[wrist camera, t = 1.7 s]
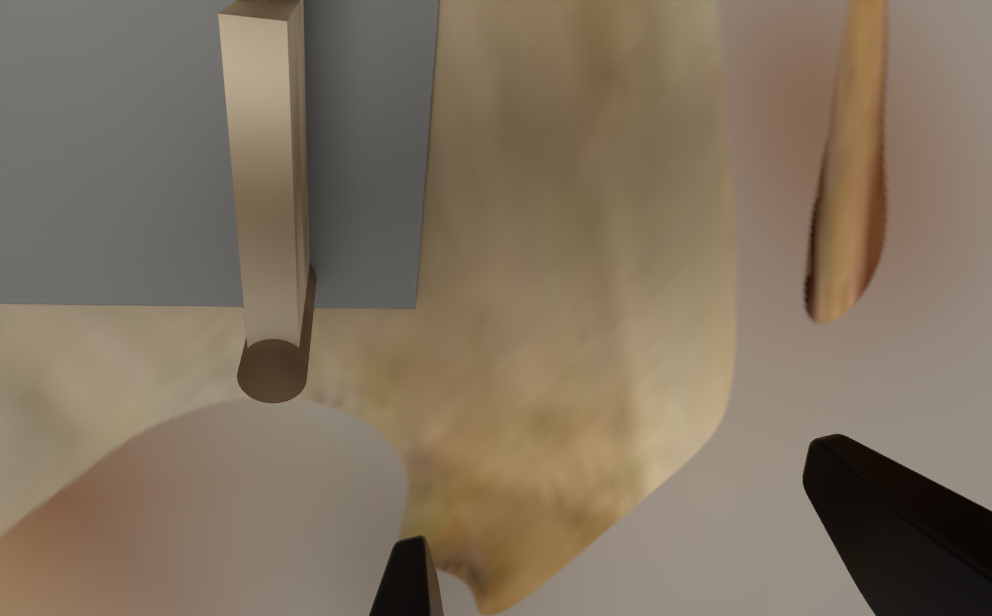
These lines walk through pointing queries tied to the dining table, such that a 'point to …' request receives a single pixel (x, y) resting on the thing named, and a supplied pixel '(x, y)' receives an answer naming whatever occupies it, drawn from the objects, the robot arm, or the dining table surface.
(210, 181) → the card
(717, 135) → the dining table surface
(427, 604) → the robot arm
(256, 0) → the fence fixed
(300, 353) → the fence gate
